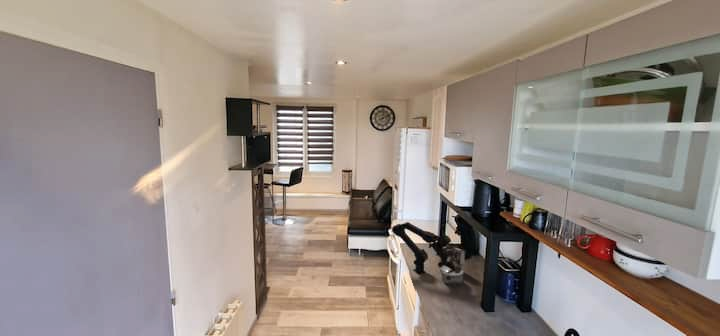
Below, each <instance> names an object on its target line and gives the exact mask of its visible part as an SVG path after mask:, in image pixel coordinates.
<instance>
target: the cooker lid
mask: <svg viewBox="0 0 720 336" xmlns="http://www.w3.org/2000/svg"><path fill="white" fill-rule="evenodd" d="M455 268H456V270H455V271H454V270H452V269H450V268H449V267H447V266H445V265H444V266H442V267H441V269H440V270H441V271H442V273H443V274H445V275H448V276H459V275H462V274H464V273H463V269H462V268H460V267H457V266H455ZM442 273H441V274H442Z"/></svg>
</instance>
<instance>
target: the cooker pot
mask: <svg viewBox="0 0 720 336" xmlns="http://www.w3.org/2000/svg"><path fill="white" fill-rule="evenodd" d="M439 272H440V273H441V282H442V283H443V284H444V285H447V286H449V287H453V288H454V287H455V288H456V286H457V287H459V286H462V285H463V276H464V275H463V274H464V273H463V274H462V275H459V276H448V275H445V274H443V273H442V271H441V269H440V270H439Z"/></svg>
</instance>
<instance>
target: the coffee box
mask: <svg viewBox="0 0 720 336" xmlns="http://www.w3.org/2000/svg"><path fill="white" fill-rule="evenodd" d="M453 247H454V248H455V249H456V250H455V252H456V253H455V255H453V256H451V258H452V257H453V264H454V266H457V267H460V268H462V269H463V274H464V273H465V262H466V260H465V259H466V250H464V249H461V248H459V247H456V246H453Z"/></svg>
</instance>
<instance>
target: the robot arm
mask: <svg viewBox="0 0 720 336" xmlns="http://www.w3.org/2000/svg"><path fill="white" fill-rule="evenodd" d="M406 230H407V231H409V232H411V233H413V234H415V235H417V236H419V237H420V238H421V239H422V240H423V241H424V242H425V243H427V244H428V249H431V248H432V249H433V250H434V252H436V254H435V255H436V256H437V257H439V258H440V261H439V262H438V263H437V267H438V268H439V269H440V268H443V267H445V266H447V267H449V268H450V269H452V270H454V271H455V270H456V268H455V266H454V264H453V257H452V258H451V256H453V255H455V253H456V252H455V250H456V249H455V248H454V247H455V246H449V248H448V249H447V248H445V247H447V246H448V245H449V244H450V243H452V239H451V238H450V236H449V235H447V234H445V233H443V234H441V235H440V236H439V235H437V234H435V233H433V232H430V231H429V230H428V231H427V230H423V229H421V228H420V227H418V226H416V225H414V224H412V223H410V221H407V222H403V223H398V224H395V225H394V226H392V227H391V231H392V233H393V234H394V235H395V236H396V237H398V238H400V239H401V240H402V241H403V242H404V243H405V244H406V246H407V247H408V248H409V249H410V250H411V252H412V253H413V254H414V257H415V260H414V261H413V265H415V268H413V271H414V272H415V273H416V274H417V275H420V274H426V270H425V262H427V261H428V259H429V255H428V252H427V251H426V250H425V249H424V248H422V249H421V248H419V246H418V245H416V243H415V242H414V240H412V239H411V237H409V235H408V234H407V233H406Z"/></svg>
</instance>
